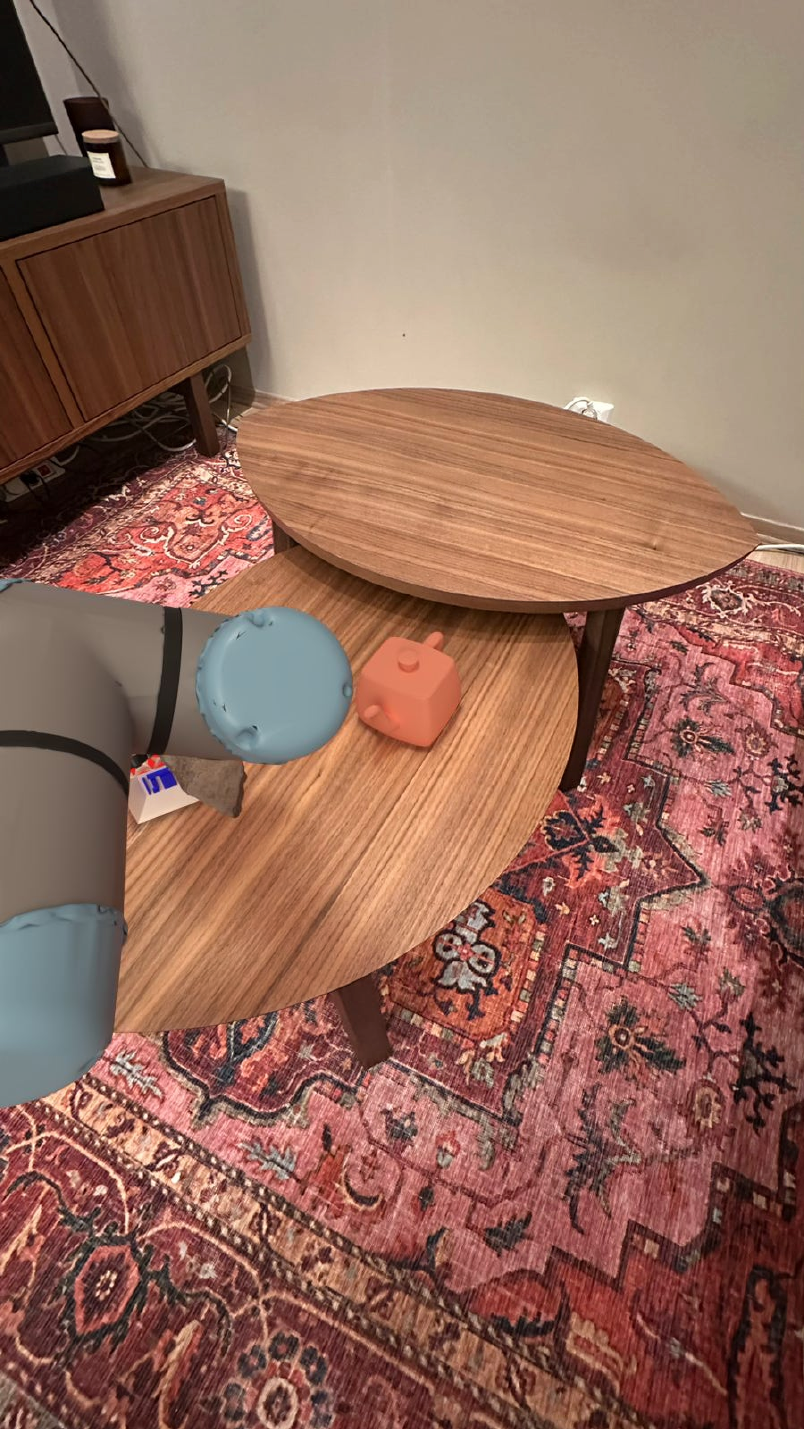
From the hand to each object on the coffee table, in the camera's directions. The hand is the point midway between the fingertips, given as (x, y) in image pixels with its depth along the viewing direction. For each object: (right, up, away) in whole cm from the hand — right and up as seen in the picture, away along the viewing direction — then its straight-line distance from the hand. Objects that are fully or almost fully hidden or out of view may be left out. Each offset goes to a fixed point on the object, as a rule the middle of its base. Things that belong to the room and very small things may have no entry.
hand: (177, 719), depth 66 cm
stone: (+2, -4, +1) cm, 5 cm away
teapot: (+22, 0, +22) cm, 31 cm away
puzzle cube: (-6, -8, +15) cm, 18 cm away
